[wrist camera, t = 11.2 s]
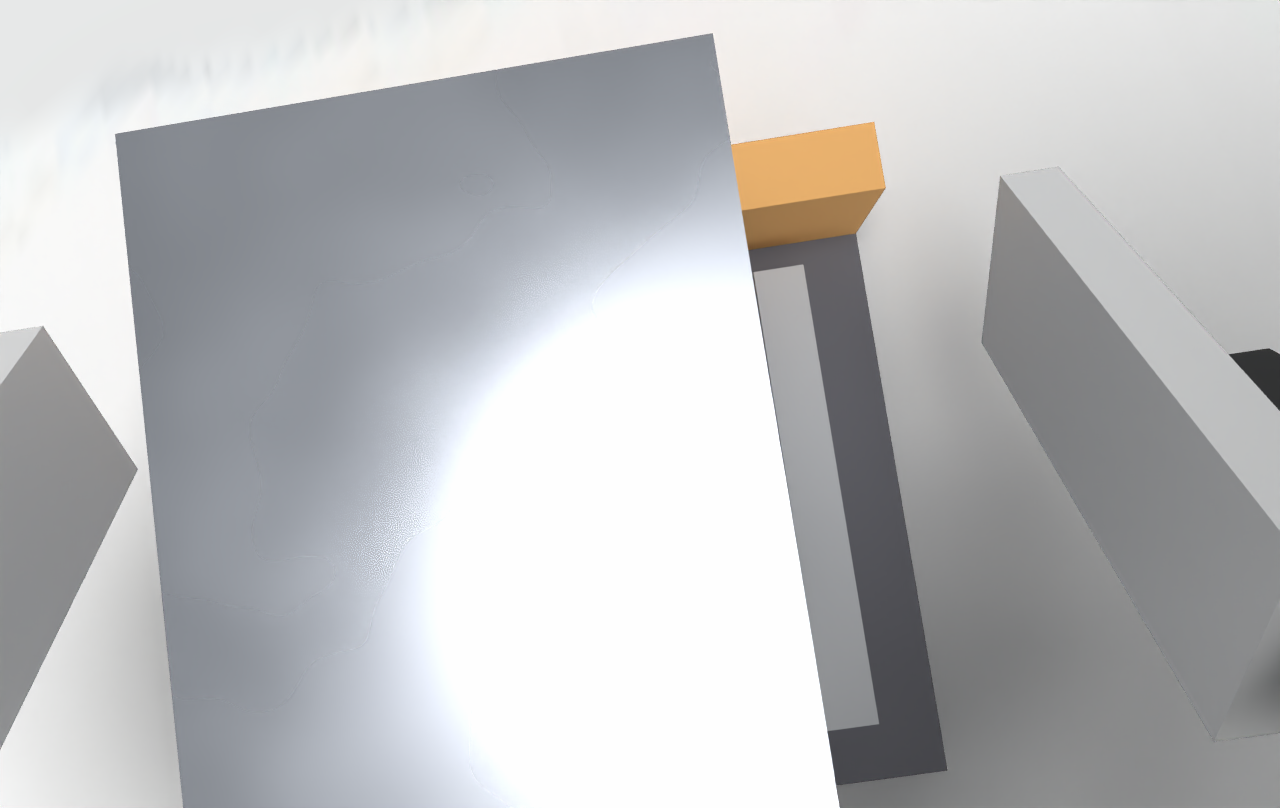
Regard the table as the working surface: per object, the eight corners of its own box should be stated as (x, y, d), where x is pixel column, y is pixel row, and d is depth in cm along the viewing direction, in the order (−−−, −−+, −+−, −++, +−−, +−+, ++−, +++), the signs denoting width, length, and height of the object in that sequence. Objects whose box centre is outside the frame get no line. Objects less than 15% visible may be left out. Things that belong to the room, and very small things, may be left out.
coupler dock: (838, 191, 21) (873, 122, 17) (934, 755, 20) (996, 824, 16) (299, 276, 21) (209, 228, 17) (362, 833, 20) (282, 917, 16)
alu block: (696, 296, 20) (707, 3, 8) (752, 652, 19) (859, 928, 7) (458, 335, 20) (113, 105, 8) (505, 688, 19) (205, 1014, 7)
